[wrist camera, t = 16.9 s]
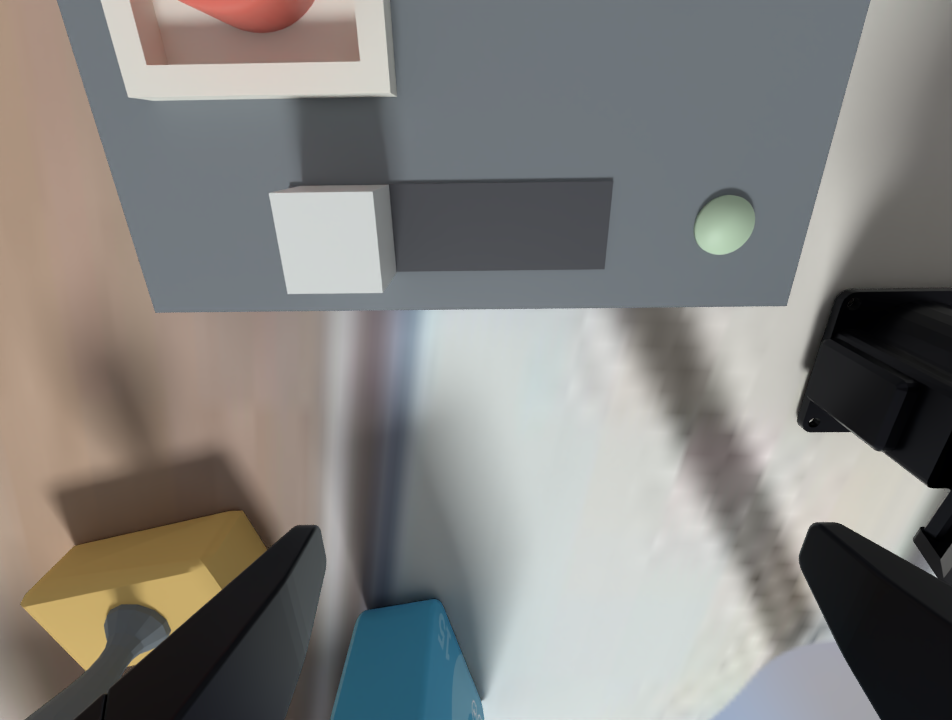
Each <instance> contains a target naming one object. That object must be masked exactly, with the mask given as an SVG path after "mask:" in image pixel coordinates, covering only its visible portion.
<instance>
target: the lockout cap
mask: <svg viewBox="0 0 952 720" xmlns="http://www.w3.org/2000/svg"><path fill="white" fill-rule="evenodd" d="M178 1H180V2H182V3H184V4H187V5H189V6H191V7H193V8H195V9H197V10H199V11H201V12H203V13H205V14H208V15H210V16H212V17H214V18H216V19H218V20H220V21H222V22H224V23H226V24H229V25H231V26H233V27H235V28H238V29H241V30H244V31H248V32H253V33H269V32H275V31H279V30H282V29H284V28H286V27H289V26H291V25H292V24H294V23H295V22H296V21H298V20H299V19H300V18H301V17H302V16H303V15H304V14H305V13H306V12H307V11H308V10H309V8H310V7H311V6H312V4H313V3H314V1H315V0H178Z"/></svg>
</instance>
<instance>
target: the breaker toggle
mask: <svg viewBox="0 0 952 720" xmlns="http://www.w3.org/2000/svg"><path fill="white" fill-rule="evenodd" d="M269 198H270V203H271V208H272V214H273V219H274V224H275V230H276V235H277V240H278V246H279V251H280V256H281V261H282V267H283V272H284V277H285V283H286V288H287V293H288V294H336V293H383V292H384V290H385V289H386V287H387V286H388V284H389V283H390V281H391V280H392V278H393V277H394V275H395V274H396V262H395V250H394V238H393V227H392V215H391V204H390V192H389V185H324V186H297V187H293V188H289V189H284V190H280V191H275V192H271V193H269Z"/></svg>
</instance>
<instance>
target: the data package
mask: <svg viewBox="0 0 952 720" xmlns="http://www.w3.org/2000/svg"><path fill="white" fill-rule="evenodd" d="M330 720H484V714H483V708H482V703H481V700H480V697H479V694H478V692H477V689H476V687H475V684H474V682H473V679H472V677H471V674H470V672H469V669H468V667H467V664H466V662H465V659H464V657H463V654H462V652H461V649H460V647H459V644H458V642H457V639H456V637H455V634H454V632H453V629H452V627H451V624H450V622H449V619H448V617H447V614H446V612H445V609H444V607H443V605H442V603H441V602H440V601H439V600H437V599H431V600H425V601H419V602H413V603H407V604H401V605H395V606H389V607H382V608H376V609H370V610H365V611H363V612H362V613H361V614H360V615H359V617H358V619H357V621H356V623H355V626H354V630H353V634H352V638H351V642H350V645H349V649H348V653H347V657H346V661H345V664H344V668H343V672H342V676H341V680H340V683H339V687H338V691H337V695H336V699H335V703H334V706H333V710H332V714H331V718H330Z"/></svg>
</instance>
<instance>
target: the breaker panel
mask: <svg viewBox="0 0 952 720" xmlns="http://www.w3.org/2000/svg"><path fill="white" fill-rule="evenodd" d="M57 2H58V5H59V8H60V12H61V15H62V18H63V21H64V24H65V27H66V31H67V34H68V37H69V40H70V43H71V47H72V50H73V53H74V56H75V59H76V62H77V66H78V69H79V72H80V75H81V78H82V81H83V85H84V88H85V91H86V94H87V97H88V100H89V104H90V107H91V110H92V113H93V116H94V119H95V123H96V126H97V129H98V132H99V135H100V139H101V142H102V145H103V148H104V151H105V154H106V158H107V161H108V164H109V167H110V170H111V173H112V177H113V180H114V183H115V186H116V189H117V192H118V196H119V199H120V202H121V205H122V208H123V211H124V215H125V218H126V221H127V224H128V227H129V231H130V234H131V237H132V240H133V243H134V246H135V250H136V253H137V256H138V259H139V262H140V265H141V269H142V272H143V275H144V278H145V281H146V284H147V288H148V291H149V294H150V297H151V300H152V303H153V307H154V310H155V313H160V312H256V311H352V310H448V309H543V308H639V307H735V306H787V302H788V299H789V295H790V291H791V288H792V284H793V281H794V277H795V273H796V270H797V266H798V262H799V259H800V255H801V251H802V248H803V244H804V240H805V237H806V233H807V230H808V226H809V222H810V219H811V215H812V211H813V208H814V204H815V200H816V197H817V193H818V190H819V186H820V182H821V179H822V175H823V171H824V168H825V164H826V160H827V157H828V153H829V149H830V146H831V142H832V139H833V135H834V131H835V128H836V124H837V120H838V117H839V113H840V109H841V106H842V102H843V98H844V95H845V91H846V88H847V84H848V80H849V77H850V73H851V69H852V66H853V62H854V58H855V55H856V51H857V47H858V44H859V40H860V37H861V33H862V29H863V26H864V22H865V18H866V15H867V11H868V7H869V4H870V0H315V1H314V3H313V4H312V6H311V7H310V8H309V10H308V11H307V12H306V13H305V14H304V15H303V16H302V17H301V18H300V19H299V20H298V21H296V22H295V23H294V24H292V25H291V26H289V27H286V28H284V29H282V30H279V31H275V32H269V33H253V32H248V31H244V30H241V29H238V28H235V27H233V26H231V25H229V24H226V23H224V22H222V21H220V20H218V19H216V18H214V17H212V16H210V15H208V14H205V13H203V12H201V11H199V10H197V9H195V8H193V7H191V6H189V5H187V4H184V3H182V2H180V1H178V0H57ZM324 185H389V192H390V204H391V215H392V227H393V238H394V250H395V262H396V274H395V275H394V277H393V278H392V280H391V281H390V283H389V284H388V286H387V287H386V289H385V290H384V292H383V293H336V294H288V293H287V288H286V283H285V277H284V272H283V267H282V261H281V256H280V251H279V246H278V240H277V235H276V230H275V224H274V219H273V214H272V208H271V203H270V198H269V193H271V192H275V191H280V190H284V189H289V188H293V187H297V186H324Z"/></svg>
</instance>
